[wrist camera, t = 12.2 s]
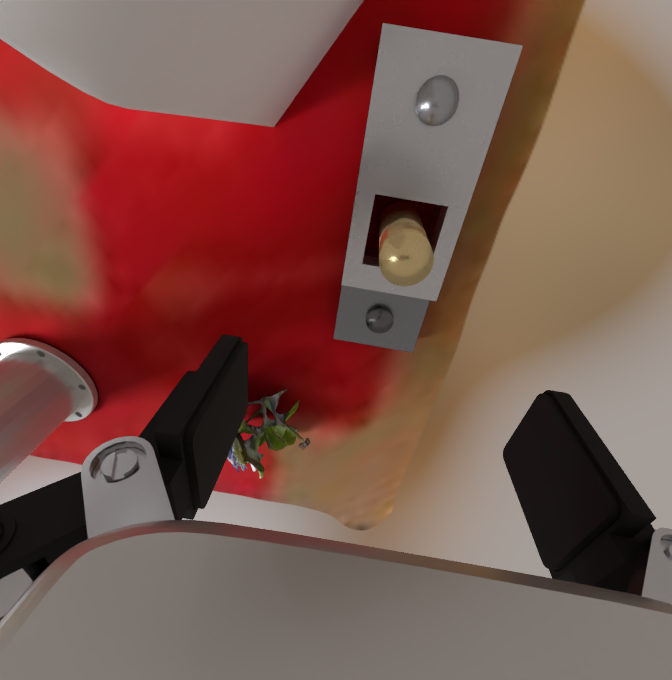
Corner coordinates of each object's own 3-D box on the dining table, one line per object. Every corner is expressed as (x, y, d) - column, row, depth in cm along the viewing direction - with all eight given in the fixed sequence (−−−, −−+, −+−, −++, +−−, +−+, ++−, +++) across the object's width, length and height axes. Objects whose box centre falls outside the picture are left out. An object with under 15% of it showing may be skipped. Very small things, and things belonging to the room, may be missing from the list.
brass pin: (404, 248, 29) (412, 295, 21) (371, 229, 28) (369, 270, 21) (427, 214, 27) (445, 251, 20) (393, 193, 27) (398, 224, 19)
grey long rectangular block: (411, 340, 34) (415, 369, 30) (335, 327, 34) (330, 354, 30) (500, 56, 22) (527, 43, 18) (382, 36, 22) (382, 20, 18)
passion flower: (244, 372, 46) (161, 388, 35) (310, 356, 41) (235, 369, 30) (262, 456, 45) (182, 497, 35) (331, 450, 40) (262, 497, 29)
